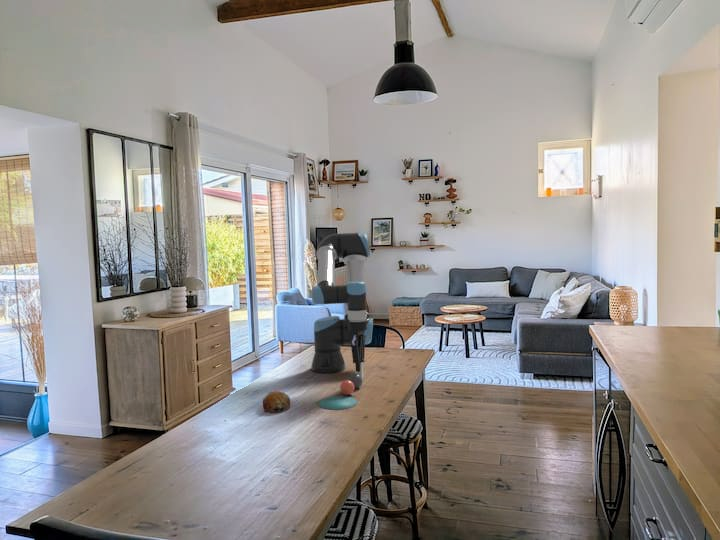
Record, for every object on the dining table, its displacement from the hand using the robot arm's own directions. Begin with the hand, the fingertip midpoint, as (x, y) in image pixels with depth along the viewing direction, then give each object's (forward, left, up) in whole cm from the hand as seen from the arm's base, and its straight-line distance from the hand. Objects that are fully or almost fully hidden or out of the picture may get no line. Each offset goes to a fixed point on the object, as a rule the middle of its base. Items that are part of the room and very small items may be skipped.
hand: (359, 378), depth 213 cm
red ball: (+6, -11, 0) cm, 13 cm away
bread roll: (+1, -39, -3) cm, 39 cm away
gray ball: (+2, -3, 0) cm, 4 cm away
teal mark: (+12, -20, -3) cm, 23 cm away
